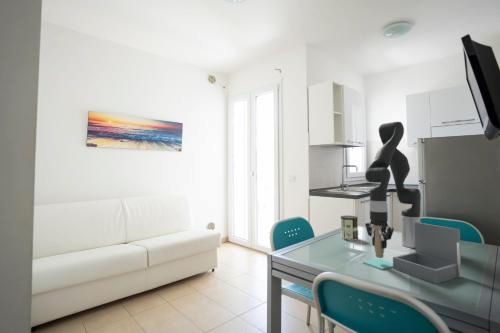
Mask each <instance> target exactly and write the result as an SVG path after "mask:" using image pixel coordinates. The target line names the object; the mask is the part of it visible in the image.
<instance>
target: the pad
mask: <svg viewBox="0 0 500 333" xmlns="http://www.w3.org/2000/svg"><path fill="white" fill-rule="evenodd" d="M362 263H363V264H365V265H367V266H370V267H374V268H376V269H378V270H380V271H384V270H387V269H391V268H393V262H390V261H387V260H383V259H382V258H375V259H374V258H373V259H370V260H365V261H363V262H362Z"/></svg>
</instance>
